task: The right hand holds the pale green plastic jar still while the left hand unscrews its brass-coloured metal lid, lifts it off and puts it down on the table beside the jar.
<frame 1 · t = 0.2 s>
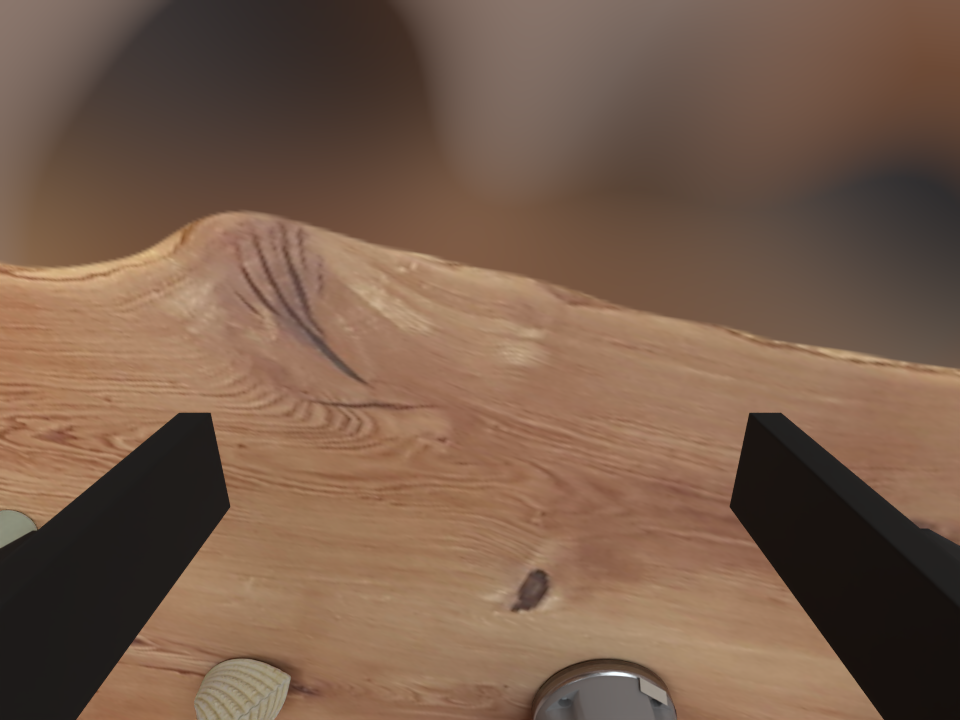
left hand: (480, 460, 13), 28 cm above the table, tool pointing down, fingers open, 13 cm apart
seashell: (250, 681, 55), on the table
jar: (15, 527, 48), on the table
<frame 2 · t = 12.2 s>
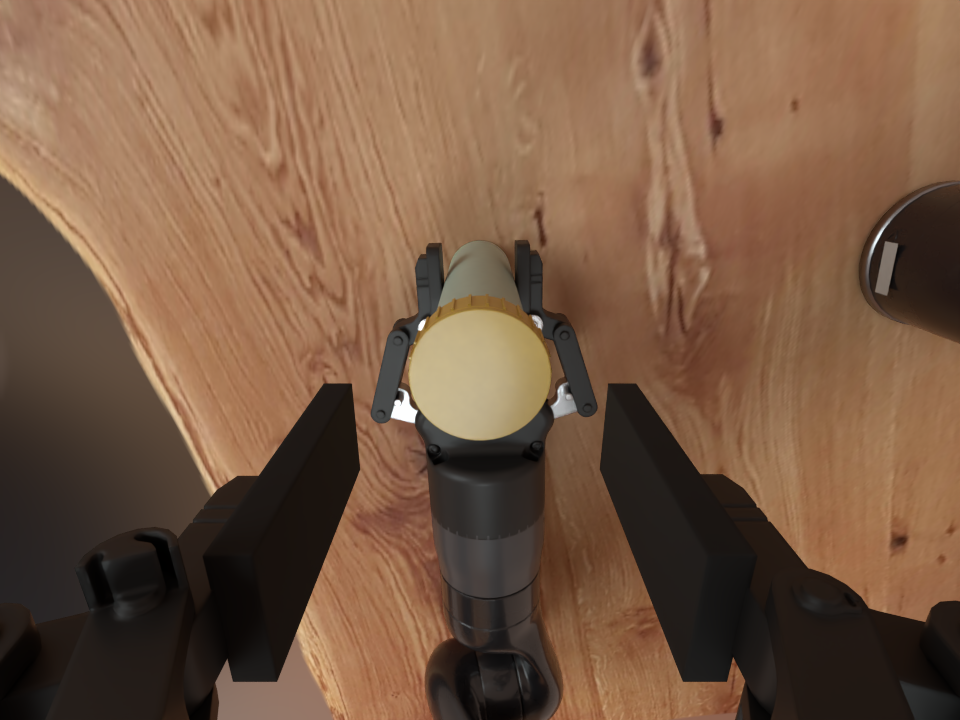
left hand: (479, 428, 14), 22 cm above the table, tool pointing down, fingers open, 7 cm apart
right hand: (477, 245, 28), fingers closed on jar, 4 cm apart
lid: (479, 374, 18), point 18 cm above the table, screwed on, not yet turned
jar: (479, 271, 35), on the table, touching right hand
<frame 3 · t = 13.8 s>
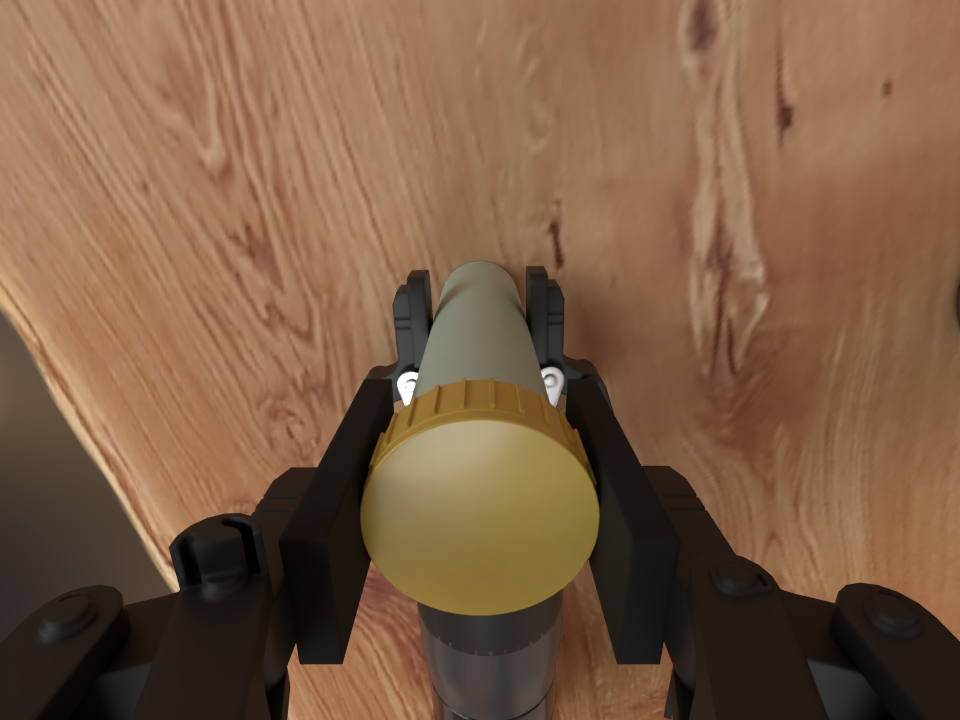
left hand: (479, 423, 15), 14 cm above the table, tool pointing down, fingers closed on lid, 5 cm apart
lid: (479, 514, 11), point 18 cm above the table, screwed on, not yet turned, touching left hand
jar: (479, 298, 28), on the table, touching right hand
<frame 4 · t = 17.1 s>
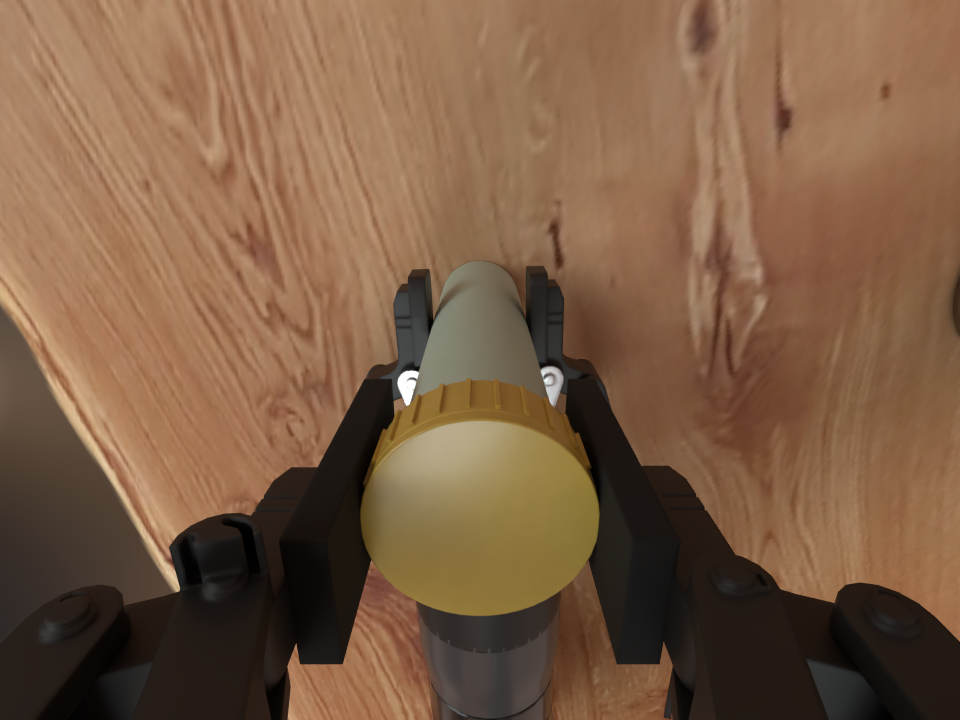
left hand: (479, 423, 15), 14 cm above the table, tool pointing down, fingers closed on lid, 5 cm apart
lid: (479, 515, 11), point 18 cm above the table, turned 122° so far, risen 0.1 cm, still on its thread, touching left hand
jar: (479, 298, 28), on the table, touching right hand
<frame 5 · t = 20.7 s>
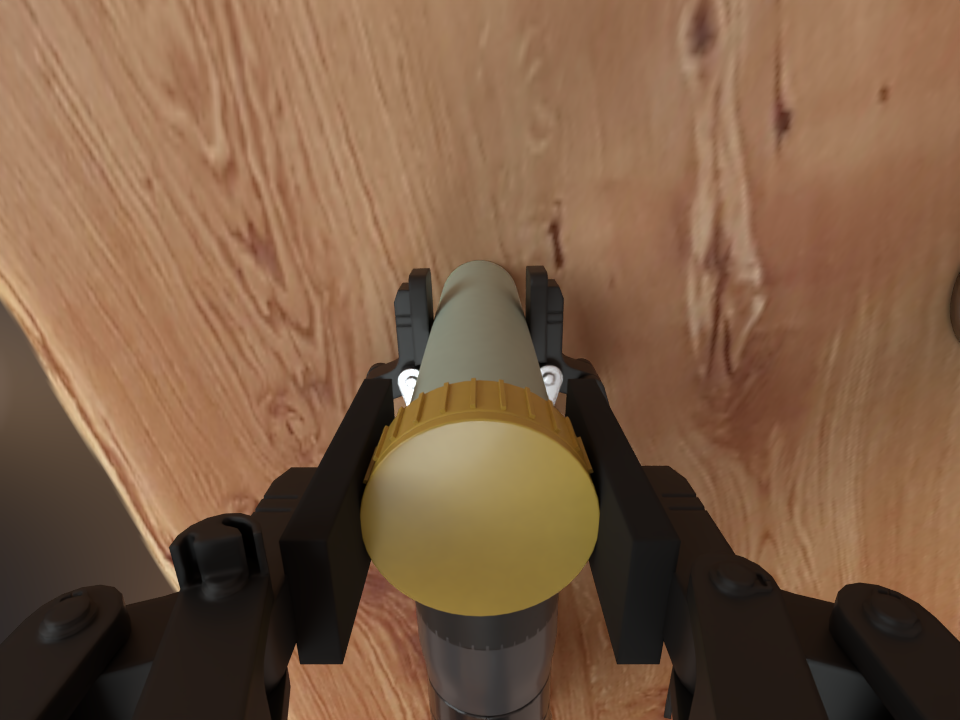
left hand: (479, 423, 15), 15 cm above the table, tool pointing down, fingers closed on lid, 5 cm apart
lid: (479, 515, 11), point 19 cm above the table, turned 245° so far, risen 0.3 cm, still on its thread, touching left hand
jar: (479, 297, 28), on the table, touching right hand
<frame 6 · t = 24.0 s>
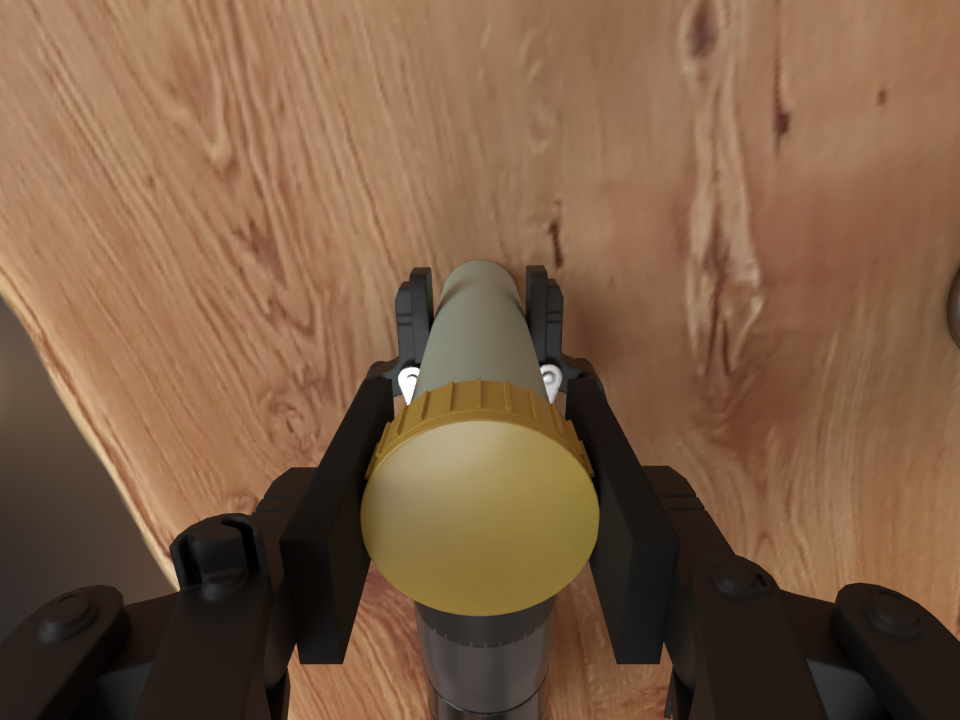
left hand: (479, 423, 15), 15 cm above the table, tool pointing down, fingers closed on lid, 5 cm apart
lid: (479, 515, 11), point 19 cm above the table, turned 367° so far, risen 0.4 cm, still on its thread, touching left hand
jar: (479, 297, 28), on the table, touching right hand
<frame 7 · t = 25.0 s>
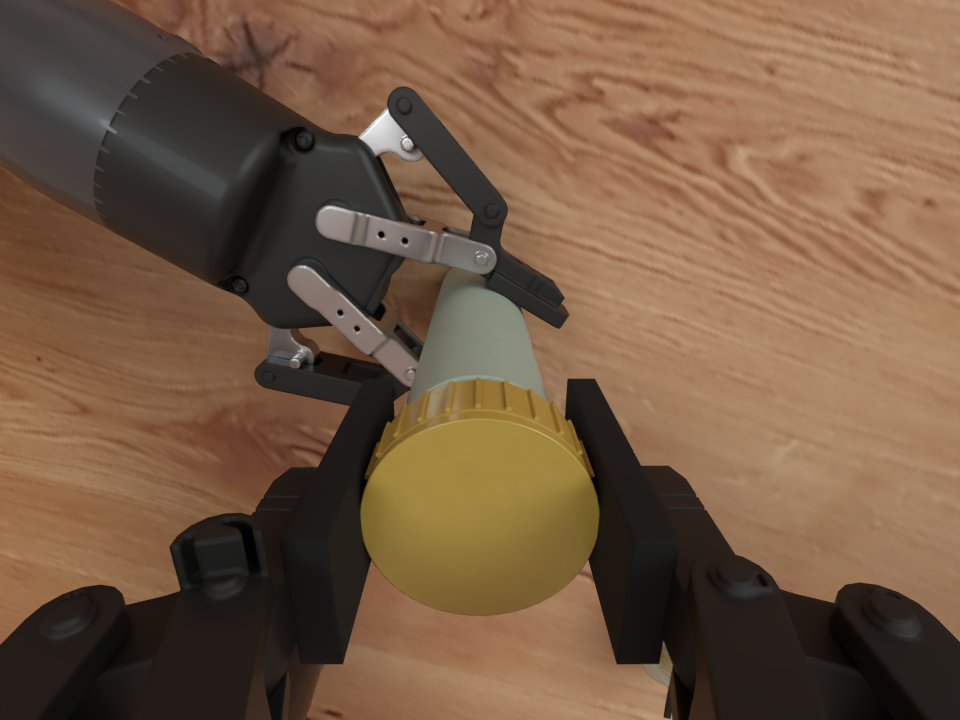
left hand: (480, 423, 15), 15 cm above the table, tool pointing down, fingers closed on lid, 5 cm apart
right hand: (530, 359, 23), fingers closed on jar, 4 cm apart
seashell: (687, 607, 37), on the table
lid: (479, 515, 11), point 19 cm above the table, off its thread, touching left hand
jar: (478, 293, 29), on the table, touching right hand
when the left hand's fingers open (0 cm above the table, at t = 30.4 s): lid drops 3 cm, point 2 cm above the table.
when the right hand's fingers open (7 cm above the table, at t = 31.0 s): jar stays where it is, on the table.
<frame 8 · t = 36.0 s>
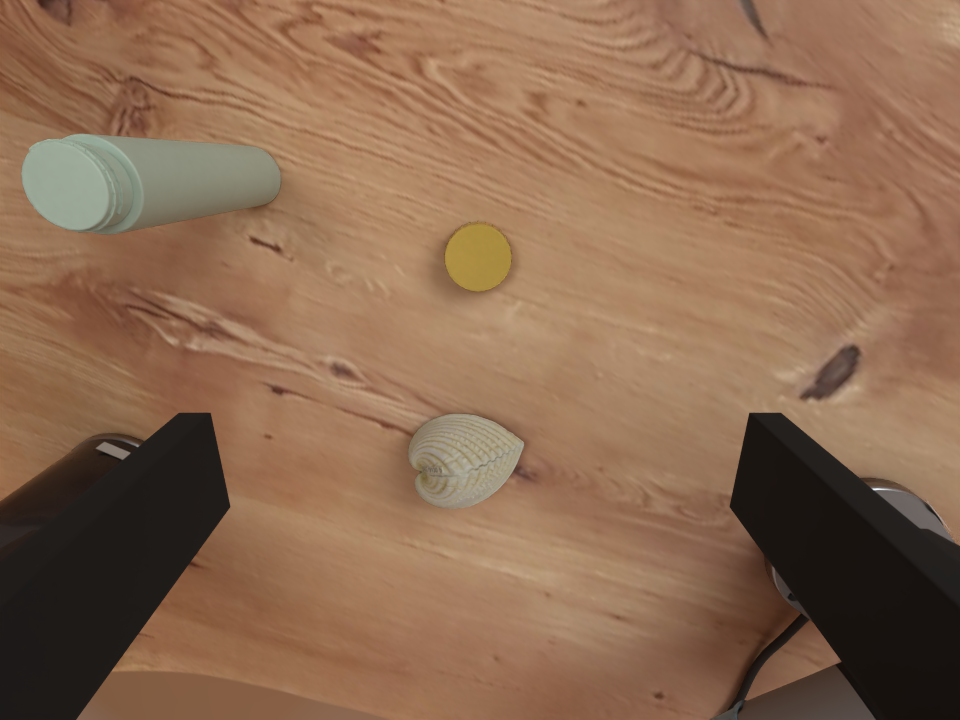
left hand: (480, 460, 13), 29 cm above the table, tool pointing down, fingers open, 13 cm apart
seashell: (462, 450, 46), on the table
lid: (478, 258, 38), point 2 cm above the table, off its thread
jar: (252, 176, 38), on the table
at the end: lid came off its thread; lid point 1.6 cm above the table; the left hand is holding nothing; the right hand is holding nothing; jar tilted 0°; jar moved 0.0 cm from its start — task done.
